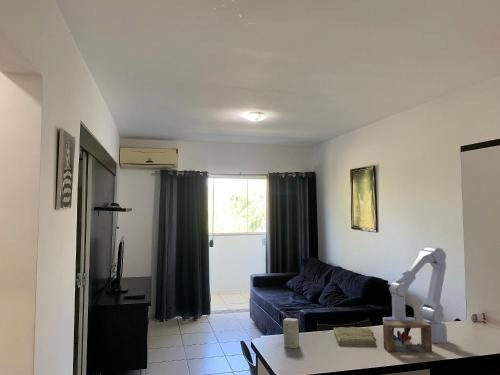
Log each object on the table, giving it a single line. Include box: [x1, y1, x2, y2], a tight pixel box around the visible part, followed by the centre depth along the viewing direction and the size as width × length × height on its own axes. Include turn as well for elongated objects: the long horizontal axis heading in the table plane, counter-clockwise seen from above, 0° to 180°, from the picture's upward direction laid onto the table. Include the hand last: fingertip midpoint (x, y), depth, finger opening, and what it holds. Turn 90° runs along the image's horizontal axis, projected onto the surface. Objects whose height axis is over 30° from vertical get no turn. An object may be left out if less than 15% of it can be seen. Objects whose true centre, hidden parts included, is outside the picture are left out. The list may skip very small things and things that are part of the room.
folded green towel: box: [333, 326, 377, 347], centre depth 184 cm, size 19×20×4 cm
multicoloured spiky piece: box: [393, 330, 413, 344], centre depth 172 cm, size 8×10×7 cm
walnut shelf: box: [382, 320, 433, 354], centre depth 169 cm, size 19×7×12 cm, turn 90°
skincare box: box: [282, 317, 300, 349], centre depth 175 cm, size 6×4×12 cm
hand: (399, 338), depth 177 cm, fingers open, 6 cm apart
